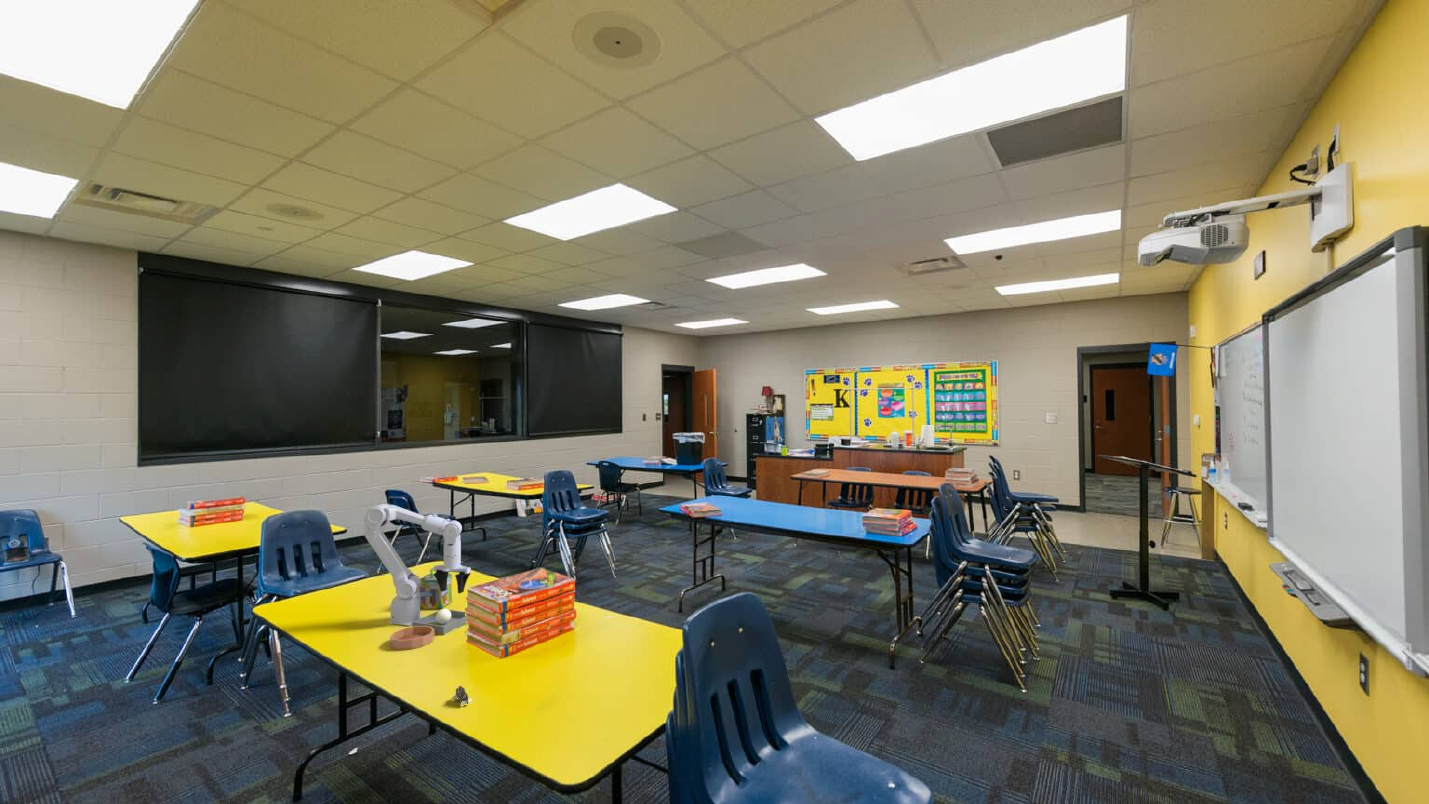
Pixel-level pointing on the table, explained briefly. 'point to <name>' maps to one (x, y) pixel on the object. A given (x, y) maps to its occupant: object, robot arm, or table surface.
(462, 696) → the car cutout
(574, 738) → the table surface
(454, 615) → the tray
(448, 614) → the ball
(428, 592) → the chalk box
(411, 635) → the bowl
